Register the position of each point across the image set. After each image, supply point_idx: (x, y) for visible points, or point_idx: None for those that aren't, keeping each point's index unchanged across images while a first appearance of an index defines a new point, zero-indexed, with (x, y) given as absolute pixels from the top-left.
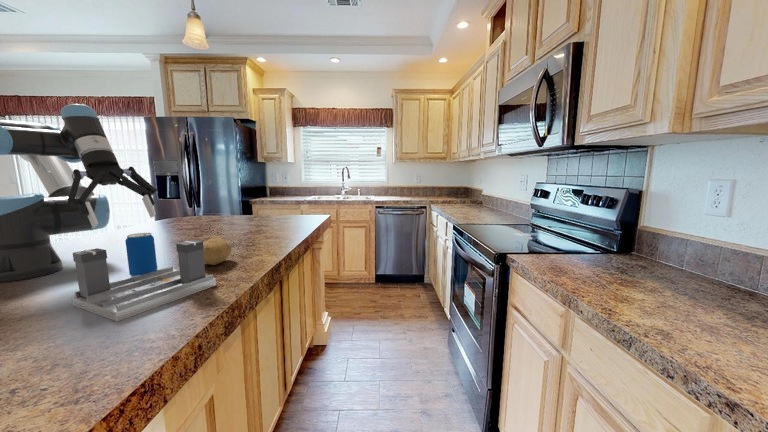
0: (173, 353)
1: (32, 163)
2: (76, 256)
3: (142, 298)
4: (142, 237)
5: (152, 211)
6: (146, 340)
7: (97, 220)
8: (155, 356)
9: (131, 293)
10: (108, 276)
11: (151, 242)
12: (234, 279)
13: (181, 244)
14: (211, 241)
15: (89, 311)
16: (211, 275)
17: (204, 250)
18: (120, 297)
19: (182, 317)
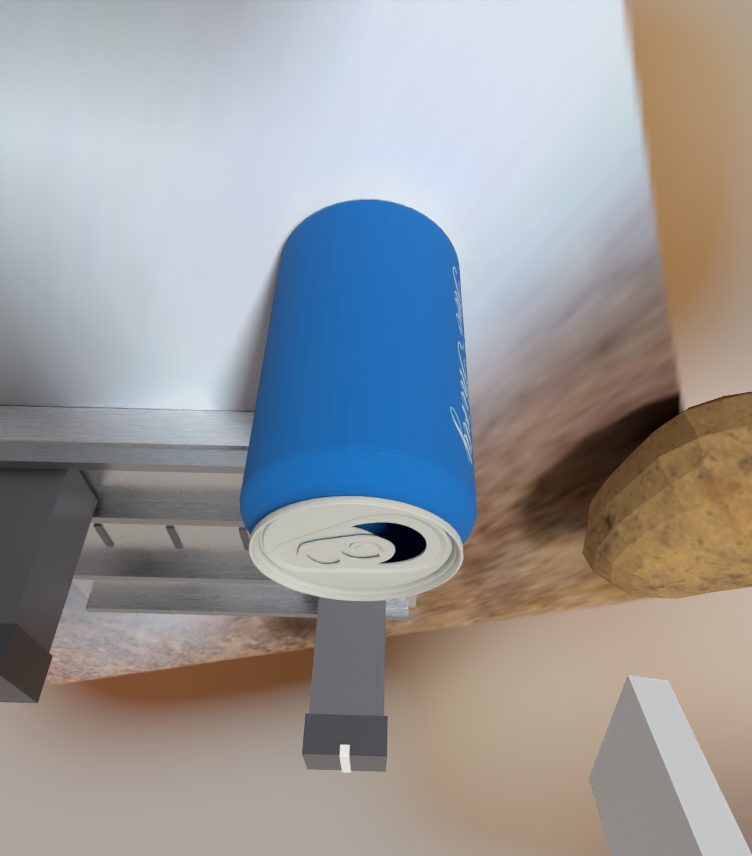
0: (147, 670)
1: None
2: None
3: (156, 612)
4: (336, 584)
5: (603, 819)
6: (126, 638)
7: None
8: (123, 663)
9: (142, 580)
10: (75, 568)
11: (402, 536)
12: (490, 584)
13: (305, 762)
14: (732, 580)
15: None
16: (401, 619)
17: (597, 571)
18: (108, 578)
19: (218, 627)
